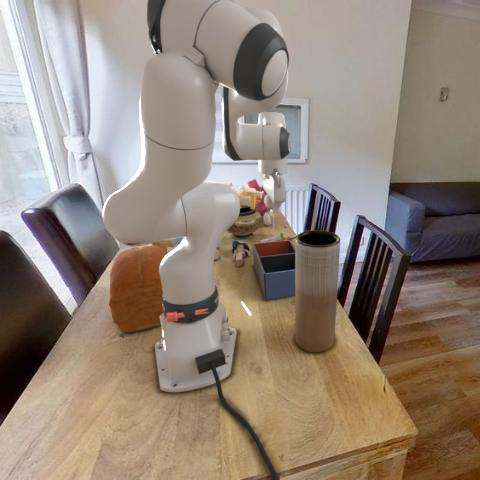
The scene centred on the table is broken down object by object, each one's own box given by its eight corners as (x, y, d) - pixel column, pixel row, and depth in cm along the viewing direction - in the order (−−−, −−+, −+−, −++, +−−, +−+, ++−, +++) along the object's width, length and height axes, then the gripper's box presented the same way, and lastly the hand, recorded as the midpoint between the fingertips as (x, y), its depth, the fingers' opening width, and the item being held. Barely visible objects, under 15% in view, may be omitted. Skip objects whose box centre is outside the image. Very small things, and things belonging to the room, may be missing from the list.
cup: (256, 237, 121) (294, 230, 123) (258, 236, 129) (293, 230, 131) (260, 257, 122) (297, 250, 124) (262, 254, 130) (297, 248, 131)
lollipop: (279, 238, 103) (278, 194, 97) (262, 237, 104) (261, 193, 98) (285, 232, 108) (284, 190, 103) (269, 230, 109) (267, 189, 104)
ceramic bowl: (224, 233, 151) (213, 205, 144) (258, 221, 156) (249, 193, 149) (232, 253, 130) (220, 221, 123) (272, 238, 135) (262, 207, 128)
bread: (174, 276, 105) (167, 233, 99) (184, 320, 84) (176, 268, 78) (119, 287, 98) (107, 241, 92) (114, 338, 76) (99, 282, 70)
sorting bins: (308, 293, 98) (309, 268, 95) (264, 300, 94) (263, 274, 90) (290, 261, 119) (290, 239, 116) (253, 265, 115) (252, 243, 111)
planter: (325, 323, 84) (329, 228, 74) (340, 347, 76) (348, 243, 65) (290, 331, 81) (289, 232, 70) (302, 357, 72) (303, 248, 62)
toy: (264, 238, 169) (288, 226, 172) (256, 219, 141) (285, 205, 143) (241, 197, 176) (265, 185, 178) (229, 170, 147) (257, 157, 150)
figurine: (217, 236, 141) (216, 224, 138) (171, 257, 120) (169, 243, 118) (196, 230, 146) (194, 218, 143) (148, 249, 125) (146, 236, 123)
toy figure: (254, 265, 116) (248, 247, 128) (251, 250, 113) (245, 234, 126) (234, 269, 114) (231, 251, 127) (231, 254, 111) (228, 238, 124)
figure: (214, 200, 139) (213, 180, 136) (251, 197, 149) (251, 178, 146) (227, 212, 126) (227, 190, 123) (267, 208, 136) (268, 187, 133)
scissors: (304, 233, 147) (304, 230, 146) (280, 249, 129) (280, 245, 129) (290, 231, 150) (290, 228, 149) (265, 246, 132) (265, 242, 132)
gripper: (290, 172, 89) (290, 217, 95) (276, 162, 107) (276, 200, 112) (268, 173, 87) (270, 219, 93) (257, 162, 105) (259, 201, 110)
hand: (273, 209), depth 103 cm, fingers closed on lollipop, 5 cm apart
